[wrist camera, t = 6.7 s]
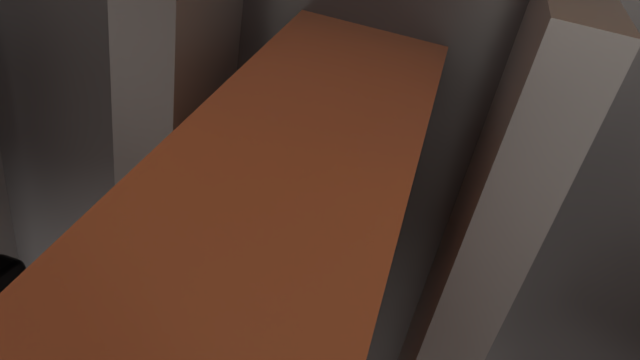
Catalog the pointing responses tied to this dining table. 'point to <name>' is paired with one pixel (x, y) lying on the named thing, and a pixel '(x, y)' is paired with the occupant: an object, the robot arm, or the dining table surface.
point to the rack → (432, 170)
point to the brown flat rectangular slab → (247, 215)
